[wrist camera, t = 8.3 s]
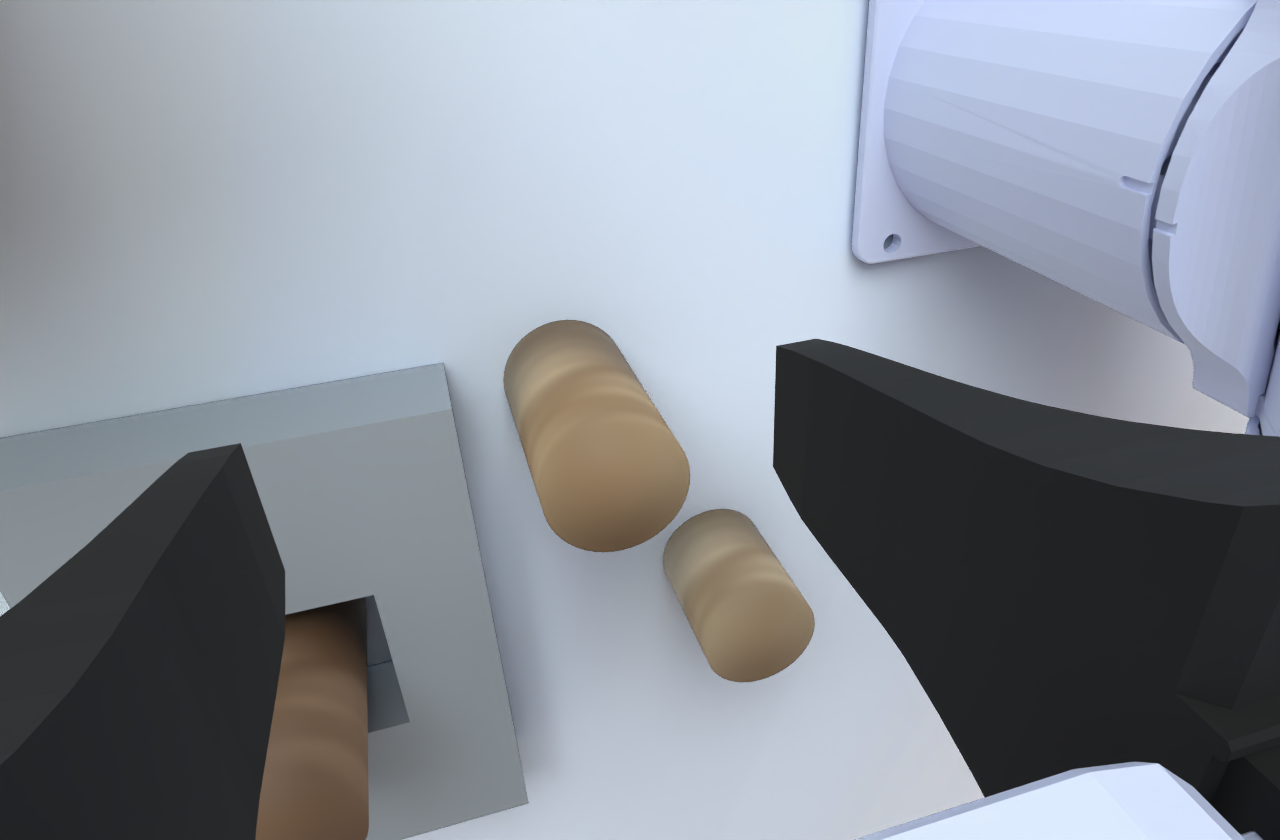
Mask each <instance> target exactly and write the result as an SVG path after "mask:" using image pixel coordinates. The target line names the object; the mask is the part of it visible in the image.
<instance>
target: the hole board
mask: <svg viewBox="0 0 1280 840" xmlns="http://www.w3.org/2000/svg"><path fill="white" fill-rule="evenodd" d="M239 443H241V445H242V448H243V451H244V454H245V457H246V460H247V462H248V465H249V468H250V471H251V474H252V477H253V480H254V483H255V485H256V488H257V491H258V494H259V497H260V500H261V503H262V506H263V508H264V511H265V514H266V517H267V520H268V523H269V526H270V529H271V532H272V534H273V537H274V540H275V543H276V546H277V549H278V552H279V555H280V557H281V560H282V563H283V566H284V569H285V615H286V614H291V613H295V612H300V611H304V610H309V609H313V608H318V607H322V606H327V605H331V604H336V603H340V602H344V601H349V600H353V599H358V598H362V597H367V596H371V595H374V597H375V601H376V604H377V608H378V611H379V615H380V619H381V622H382V626H383V629H384V633H385V636H386V640H387V643H388V647H389V650H390V654H391V657H392V661H390V662H386V663H382V664H378V665H374V666H369V667H367V709H368V787H369V831H368V835H367V838H366V840H402V839H405V838H409V837H412V836H416V835H419V834H423V833H426V832H430V831H433V830H437V829H440V828H444V827H447V826H451V825H454V824H458V823H461V822H465V821H468V820H472V819H475V818H479V817H482V816H486V815H489V814H493V813H496V812H500V811H503V810H507V809H510V808H514V807H517V806H521V805H524V804H528V798H527V792H526V787H525V782H524V777H523V772H522V766H521V761H520V756H519V751H518V746H517V741H516V735H515V730H514V725H513V720H512V715H511V710H510V704H509V699H508V694H507V689H506V684H505V679H504V674H503V668H502V663H501V658H500V653H499V648H498V643H497V638H496V632H495V627H494V622H493V617H492V612H491V607H490V602H489V596H488V591H487V586H486V581H485V576H484V571H483V565H482V560H481V555H480V550H479V545H478V540H477V535H476V529H475V524H474V519H473V514H472V509H471V504H470V499H469V493H468V488H467V483H466V478H465V473H464V468H463V463H462V457H461V452H460V447H459V442H458V437H457V432H456V426H455V421H454V416H453V411H452V406H451V401H450V396H449V390H448V385H447V380H446V375H445V370H444V365H443V363H439V364H434V365H428V366H422V367H416V368H410V369H404V370H398V371H392V372H387V373H381V374H375V375H369V376H363V377H357V378H351V379H345V380H340V381H334V382H328V383H322V384H316V385H310V386H304V387H298V388H292V389H287V390H281V391H275V392H269V393H263V394H257V395H251V396H245V397H240V398H234V399H228V400H222V401H216V402H210V403H204V404H198V405H193V406H187V407H181V408H175V409H169V410H163V411H157V412H151V413H146V414H140V415H134V416H128V417H122V418H116V419H110V420H104V421H99V422H93V423H87V424H81V425H75V426H69V427H63V428H57V429H51V430H46V431H40V432H34V433H28V434H22V435H16V436H10V437H4V438H0V591H1V593H2V595H3V596H4V598H5V600H6V602H7V603H8V605H9V607H10V609H11V608H12V607H13V606H15V605H16V604H17V603H19V602H20V601H21V600H22V599H24V598H25V597H26V596H27V595H28V594H29V593H31V592H32V591H33V590H34V589H35V588H36V587H38V586H39V585H40V584H41V583H42V582H44V581H45V580H46V579H47V578H48V577H49V576H51V575H52V574H53V573H54V572H55V571H57V570H58V569H59V568H60V567H61V566H62V565H64V564H65V563H66V562H67V561H68V560H69V559H71V558H72V557H73V556H74V555H75V554H77V553H78V552H79V551H80V550H81V549H82V548H84V547H85V546H86V545H87V544H88V543H89V542H90V541H91V540H93V539H94V538H95V537H96V536H97V535H98V534H99V533H100V532H101V531H102V530H103V529H104V528H106V527H107V526H108V525H109V524H110V523H111V522H112V521H113V520H114V519H115V518H116V517H117V516H118V515H120V514H121V513H122V512H123V511H124V510H125V509H126V508H127V507H128V506H129V505H130V504H131V503H132V502H133V501H135V500H136V499H137V498H138V497H139V496H140V495H141V494H142V493H143V492H144V491H145V490H146V489H147V488H148V487H149V486H150V485H151V484H153V483H154V482H155V481H156V480H157V479H158V478H159V477H160V476H161V475H162V474H163V473H164V472H165V471H167V470H168V469H169V468H170V467H171V466H172V465H173V464H175V463H176V462H177V461H178V460H179V459H181V458H182V457H183V456H185V455H186V454H187V453H189V452H194V451H200V450H205V449H211V448H216V447H222V446H227V445H233V444H239Z"/></svg>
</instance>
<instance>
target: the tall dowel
mask: <svg viewBox="0 0 1280 840" xmlns="http://www.w3.org/2000/svg"><path fill="white" fill-rule="evenodd" d="M368 831H369V787H368V709H367V631H366V604H365V600H364V597H362V598H358V599H353V600H349V601H344V602H340V603H336V604H331V605H327V606H322V607H318V608H313V609H309V610H304V611H300V612H295V613H291V614H286V615H285V640H284V647H283V654H282V661H281V667H280V674H279V681H278V687H277V694H276V700H275V706H274V712H273V718H272V724H271V731H270V737H269V743H268V749H267V755H266V762H265V768H264V774H263V780H262V786H261V793H260V800H259V809H258V818H257V827H256V840H366V838H367V835H368Z"/></svg>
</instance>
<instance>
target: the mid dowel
mask: <svg viewBox="0 0 1280 840" xmlns="http://www.w3.org/2000/svg"><path fill="white" fill-rule="evenodd" d="M504 389H505V393H506V397H507V400H508V403H509V406H510V409H511V412H512V416H513V419H514V422H515V425H516V428H517V431H518V434H519V437H520V441H521V444H522V447H523V450H524V453H525V456H526V459H527V462H528V466H529V469H530V472H531V475H532V478H533V481H534V484H535V487H536V491H537V494H538V497H539V500H540V503H541V506H542V509H543V513H544V515H545V518H546V520H547V522H548V524H549V525H550V527H551V529H552V530H553V531H554V532H555V533H556V534H557V535H558V536H559V537H560V538H561V539H562V540H564V541H566V542H567V543H569V544H571V545H573V546H575V547H577V548H580V549H584V550H588V551H594V552H613V551H619V550H624V549H627V548H631V547H634V546H636V545H639V544H641V543H643V542H645V541H647V540H649V539H650V538H652V537H654V536H655V535H657V534H658V533H659V532H660V531H662V530H663V529H664V528H665V527H666V526H667V525H668V524H669V523H670V522H671V521H672V520H673V519H674V517H675V516H676V515H677V514H678V512H679V510H680V509H681V507H682V505H683V503H684V501H685V499H686V496H687V493H688V489H689V484H690V470H689V464H688V460H687V457H686V455H685V453H684V451H683V449H682V448H681V446H680V445H679V443H678V441H677V440H676V438H675V437H674V435H673V434H672V432H671V430H670V429H669V427H668V426H667V424H666V423H665V421H664V419H663V418H662V416H661V415H660V413H659V412H658V410H657V408H656V407H655V405H654V404H653V402H652V401H651V399H650V397H649V396H648V394H647V393H646V391H645V390H644V388H643V386H642V385H641V383H640V382H639V380H638V379H637V377H636V375H635V374H634V372H633V371H632V369H631V368H630V366H629V364H628V363H627V361H626V360H625V358H624V356H623V355H622V353H621V352H620V350H619V349H618V347H617V346H616V344H615V342H614V341H613V340H612V339H611V338H610V336H609V335H608V334H606V333H605V332H604V331H603V330H601V329H600V328H598V327H596V326H594V325H592V324H589V323H586V322H582V321H576V320H562V321H555V322H551V323H548V324H545V325H542V326H540V327H538V328H536V329H535V330H533V331H532V332H530V333H528V334H527V335H526V336H525V337H524V338H523V339H521V341H520V342H519V343H518V344H517V345H516V346H515V348H514V349H513V351H512V352H511V354H510V356H509V358H508V361H507V363H506V366H505V371H504Z"/></svg>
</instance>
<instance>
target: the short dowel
mask: <svg viewBox="0 0 1280 840" xmlns="http://www.w3.org/2000/svg"><path fill="white" fill-rule="evenodd" d="M663 568H664V571H665V574H666V576H667V578H668V580H669V582H670V584H671V586H672V588H673V590H674V592H675V594H676V596H677V599H678V601H679V603H680V605H681V607H682V609H683V611H684V613H685V615H686V617H687V619H688V621H689V623H690V625H691V627H692V630H693V632H694V634H695V636H696V638H697V640H698V642H699V644H700V646H701V648H702V650H703V652H704V654H705V656H706V658H707V661H708V663H709V665H710V666H711V668H712V669H713V671H714V672H715V673H716V674H718V675H719V676H721V677H722V678H724V679H727V680H730V681H735V682H751V681H757V680H761V679H764V678H767V677H770V676H772V675H774V674H776V673H778V672H780V671H782V670H783V669H785V668H786V667H788V666H789V665H790V664H792V663H793V662H794V661H795V660H796V659H797V658H798V657H799V656H800V655H801V654H802V653H803V651H804V650H805V649H806V647H807V645H808V644H809V642H810V640H811V638H812V635H813V631H814V625H815V622H814V614H813V612H812V609H811V608H810V606H809V605H808V603H807V602H806V600H805V599H804V597H803V596H802V594H801V593H800V591H799V590H798V588H797V587H796V586H795V584H794V583H793V581H792V580H791V578H790V577H789V575H788V574H787V572H786V571H785V569H784V568H783V566H782V565H781V563H780V562H779V560H778V559H777V558H776V556H775V555H774V553H773V552H772V550H771V549H770V547H769V546H768V544H767V543H766V541H765V540H764V538H763V537H762V535H761V534H760V532H759V531H758V530H757V528H756V527H755V525H754V524H753V522H752V521H751V520H750V519H749V518H748V517H747V516H745V515H744V514H742V513H740V512H737V511H734V510H729V509H716V510H710V511H706V512H703V513H701V514H698V515H696V516H694V517H692V518H690V519H689V520H687V521H686V522H685V523H683V524H682V525H681V526H680V527H679V528H678V529H677V530H676V531H675V532H674V533H673V534H672V536H671V537H670V539H669V540H668V542H667V544H666V547H665V550H664V554H663Z"/></svg>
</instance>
